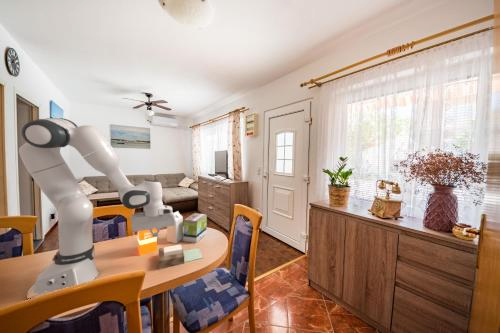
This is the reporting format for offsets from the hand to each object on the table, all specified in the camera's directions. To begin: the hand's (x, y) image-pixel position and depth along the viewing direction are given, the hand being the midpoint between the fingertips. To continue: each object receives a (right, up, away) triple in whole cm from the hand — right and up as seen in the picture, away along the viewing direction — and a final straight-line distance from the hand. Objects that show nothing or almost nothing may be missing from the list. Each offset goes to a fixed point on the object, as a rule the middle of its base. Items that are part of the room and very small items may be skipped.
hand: (155, 236), depth 99 cm
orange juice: (-11, -14, +13) cm, 22 cm away
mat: (+16, -14, +9) cm, 23 cm away
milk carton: (0, -13, +27) cm, 29 cm away
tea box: (+12, -13, +31) cm, 36 cm away
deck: (+6, -14, +4) cm, 16 cm away
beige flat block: (+7, -10, +4) cm, 13 cm away
